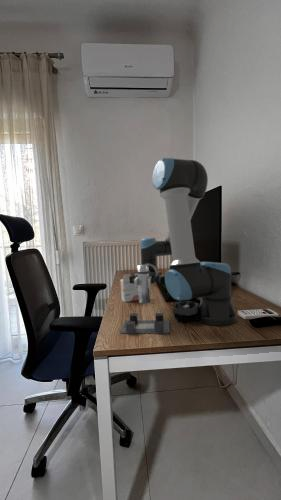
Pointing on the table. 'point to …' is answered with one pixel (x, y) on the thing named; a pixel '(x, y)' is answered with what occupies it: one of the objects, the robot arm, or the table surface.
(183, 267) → the robot arm
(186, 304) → the cpu cooler
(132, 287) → the ink cartridge box
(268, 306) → the table surface
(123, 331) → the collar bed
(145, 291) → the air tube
